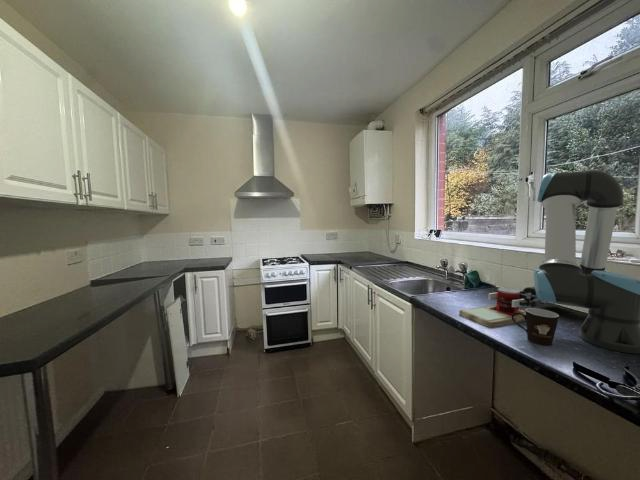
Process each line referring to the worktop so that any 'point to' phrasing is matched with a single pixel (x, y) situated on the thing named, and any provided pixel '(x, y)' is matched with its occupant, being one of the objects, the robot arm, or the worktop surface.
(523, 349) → the worktop surface
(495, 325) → the board
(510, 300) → the canned food
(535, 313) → the coffee mug
